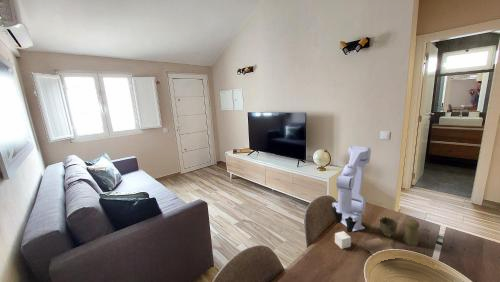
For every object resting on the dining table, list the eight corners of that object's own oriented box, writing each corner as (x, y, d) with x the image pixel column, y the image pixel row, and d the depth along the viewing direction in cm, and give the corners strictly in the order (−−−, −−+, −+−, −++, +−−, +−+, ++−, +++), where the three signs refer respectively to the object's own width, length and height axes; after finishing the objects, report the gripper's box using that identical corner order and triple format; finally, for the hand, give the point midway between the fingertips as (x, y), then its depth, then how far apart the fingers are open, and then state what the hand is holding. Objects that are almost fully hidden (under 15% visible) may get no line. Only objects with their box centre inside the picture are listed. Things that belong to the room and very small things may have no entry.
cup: (390, 242, 102) (392, 227, 100) (375, 234, 108) (376, 219, 106) (399, 236, 105) (400, 222, 103) (384, 229, 111) (385, 215, 110)
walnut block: (362, 247, 100) (362, 241, 99) (377, 243, 102) (378, 237, 102) (378, 261, 91) (378, 254, 91) (394, 256, 94) (395, 250, 93)
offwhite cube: (334, 242, 104) (334, 233, 103) (343, 240, 105) (343, 231, 104) (341, 249, 99) (341, 239, 98) (350, 246, 100) (350, 237, 99)
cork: (421, 246, 98) (423, 224, 96) (406, 245, 99) (408, 224, 97) (414, 237, 104) (416, 217, 101) (400, 236, 105) (402, 216, 103)
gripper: (327, 195, 103) (326, 220, 106) (349, 209, 89) (347, 238, 92) (339, 193, 105) (338, 217, 108) (362, 206, 91) (361, 234, 94)
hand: (343, 227), depth 100 cm, fingers open, 7 cm apart
